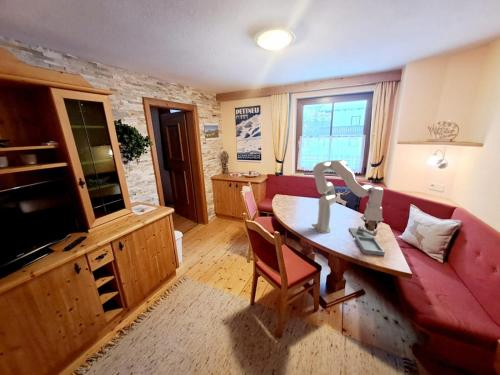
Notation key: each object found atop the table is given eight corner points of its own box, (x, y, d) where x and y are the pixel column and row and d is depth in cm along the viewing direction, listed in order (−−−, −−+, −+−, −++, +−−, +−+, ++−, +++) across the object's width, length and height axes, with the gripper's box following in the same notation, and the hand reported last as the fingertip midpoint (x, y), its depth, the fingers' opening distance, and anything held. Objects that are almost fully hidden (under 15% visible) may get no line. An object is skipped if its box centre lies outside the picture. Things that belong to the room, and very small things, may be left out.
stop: (367, 230, 137) (369, 220, 135) (365, 227, 142) (366, 217, 139) (375, 231, 136) (377, 221, 134) (372, 228, 141) (374, 218, 138)
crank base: (353, 236, 156) (354, 233, 155) (348, 228, 169) (349, 225, 169) (372, 238, 153) (373, 235, 153) (366, 230, 167) (366, 227, 166)
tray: (363, 253, 135) (364, 249, 134) (355, 239, 153) (356, 235, 152) (384, 255, 132) (385, 251, 132) (373, 241, 150) (374, 237, 149)
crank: (356, 229, 161) (357, 224, 160) (360, 228, 163) (361, 222, 162) (373, 237, 149) (375, 231, 147) (377, 235, 151) (378, 230, 150)
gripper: (362, 205, 132) (359, 229, 137) (390, 207, 128) (385, 231, 133) (359, 202, 139) (356, 224, 144) (385, 203, 135) (381, 226, 140)
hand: (370, 227), depth 138 cm, fingers closed on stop, 5 cm apart
